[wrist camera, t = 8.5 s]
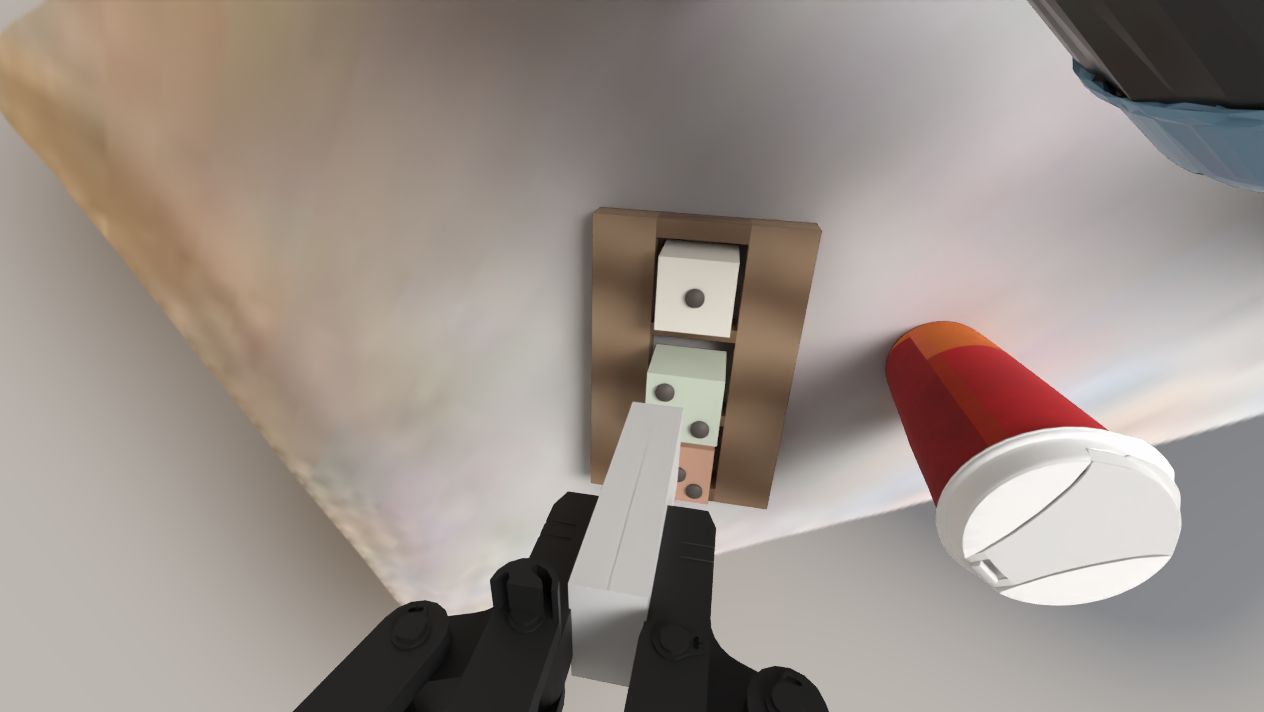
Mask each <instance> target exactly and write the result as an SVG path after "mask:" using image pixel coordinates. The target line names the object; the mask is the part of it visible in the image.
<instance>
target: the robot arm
mask: <svg viewBox="0 0 1264 712" xmlns="http://www.w3.org/2000/svg"><path fill="white" fill-rule="evenodd" d="M1027 1H1028V2H1029V3H1030V5H1031V6H1032V7H1033V8H1034V10H1035V11H1036V12H1037V13H1038V15H1039V16H1040V17H1041V18H1042V20H1043V21H1044V22H1045V23H1046V24H1047V26H1048V27H1049V28H1050V29H1051V31H1052V32H1053V33H1054V34H1055V36H1056V37H1057V38H1058V39H1059V41H1060V42H1061V43H1062V44H1063V46H1064V47H1065V48H1066V49H1067V51H1068V52H1069V53H1070V54H1071V56H1072V57H1073V70H1074V72H1075V74H1076V75H1077V76H1078V77H1079V79H1080V80H1081V82H1082V83H1083V84H1084V86H1085V87H1086V88H1087V89H1089V90H1090V91H1091V92H1092V93H1093V94H1095V95H1096V96H1097V97H1098V98H1100V99H1102V100H1104V101H1106V102H1108V103H1110V104H1112V105H1114V106H1116V107H1118V108H1120V109H1121V110H1122V111H1123V112H1124V113H1125V114H1126V115H1127V116H1128V118H1129V119H1130V120H1131V121H1132V122H1133V123H1134V124H1135V125H1136V126H1137V127H1138V128H1139V129H1140V131H1141V132H1142V133H1143V134H1144V135H1145V136H1146V137H1147V138H1148V139H1149V140H1150V141H1151V142H1152V144H1153V145H1154V146H1155V147H1156V148H1157V149H1158V150H1159V151H1160V152H1161V153H1162V154H1163V155H1165V156H1166V157H1167V158H1168V159H1170V160H1171V161H1172V162H1174V163H1175V164H1177V165H1179V166H1180V167H1182V168H1184V169H1186V170H1188V171H1190V172H1193V173H1196V174H1201V175H1206V176H1208V177H1210V178H1213V179H1216V180H1219V181H1221V182H1223V183H1226V184H1228V185H1230V186H1233V187H1239V188H1244V189H1248V190H1251V191H1256V192H1261V193H1264V0H1027ZM682 419H683V408H681V407H673V406H664V405H656V404H648V403H639V402H632V405H631V408H630V411H629V414H628V416H627V419H626V422H625V425H624V428H623V430H622V433H621V436H620V439H619V442H618V444H617V447H616V450H615V453H614V456H613V458H612V461H611V464H610V467H609V470H608V472H607V475H606V478H605V481H604V484H603V487H602V489H601V492H600V495H599V496H595V495H588V494H581V493H575V492H567V493H566V494H565V495H564V496H563V497H561V498H560V499H559V500H558V501H557V502H556V503H555V504H554V505H553V507H552V509H551V512H550V514H549V516H548V518H547V520H546V524H545V525H544V527H543V529H542V531H541V533H540V537H539V538H538V540H537V542H536V544H535V546H534V549H533V551H532V553H531V555H530V557H529V558H522V559H518V560H515V561H511V562H509V563H507V564H506V565H504V566H503V567H501V568H500V569H498V570H497V571H496V573H495V574H494V575H493V577H492V578H491V579H490V585H491V592H492V599H493V607H492V608H490V609H488V610H485V611H481V612H477V613H470V614H462V615H453V616H447V613H446V610H445V609H444V608H442V607H441V606H440V605H439V604H438V603H435V602H430V601H426V600H424V601H416V602H410V603H408V604H406V605H403V606H401V607H399V608H397V609H396V610H394V611H393V612H392V613H391V614H389V615H388V616H387V617H385V618H384V620H382V622H380V623H379V624H378V625H377V627H376V628H375V629H374V630H373V631H372V632H371V633H370V634H369V635H368V636H367V637H366V638H365V639H364V640H363V641H362V642H361V643H360V644H359V645H358V646H357V647H356V648H355V649H354V650H353V651H352V652H351V653H350V654H349V655H348V656H347V657H346V658H345V659H344V660H343V661H342V662H341V663H340V664H339V665H338V666H337V667H336V668H335V669H334V670H333V671H332V672H331V673H330V674H329V675H328V676H327V677H326V679H324V680H323V681H322V682H321V683H320V685H318V686H317V687H316V689H315V690H314V691H313V692H312V693H311V694H310V695H309V696H308V697H307V698H306V699H305V700H304V701H303V702H302V703H301V704H300V705H299V706H298V707H297V708H296V709H295V710H294V711H293V712H562V709H563V706H564V697H565V680H566V677H567V674H568V671H569V668H570V664H571V669H572V670H571V671H572V675H573V676H578V677H582V678H587V679H592V680H597V681H602V682H607V683H612V684H617V685H621V686H627V687H629V689H628V694H627V699H626V704H625V709H624V712H829V711H828V708H827V705H826V703H825V701H824V699H823V698H822V696H821V694H820V692H819V690H818V689H817V687H816V686H815V685H814V684H813V683H812V682H811V681H810V680H808V679H807V678H806V677H805V676H804V675H802V674H800V673H798V672H796V671H794V670H793V669H791V668H785V667H778V666H773V667H769V668H765V669H762V670H761V671H759V672H757V671H755V670H753V669H751V668H749V667H747V666H746V665H744V664H742V663H740V662H738V661H737V660H735V659H734V658H732V657H731V656H729V655H728V654H727V653H726V652H725V651H724V650H723V649H722V648H721V647H720V645H719V644H718V642H717V641H716V639H715V637H714V635H713V632H712V629H711V620H710V616H711V600H712V583H713V567H714V551H715V534H716V527H715V525H714V523H713V521H712V518H711V516H710V514H709V512H708V511H704V510H697V509H690V508H684V507H677V506H673V505H674V499H675V493H676V487H677V481H678V468H679V456H680V444H681V432H682Z"/></svg>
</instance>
